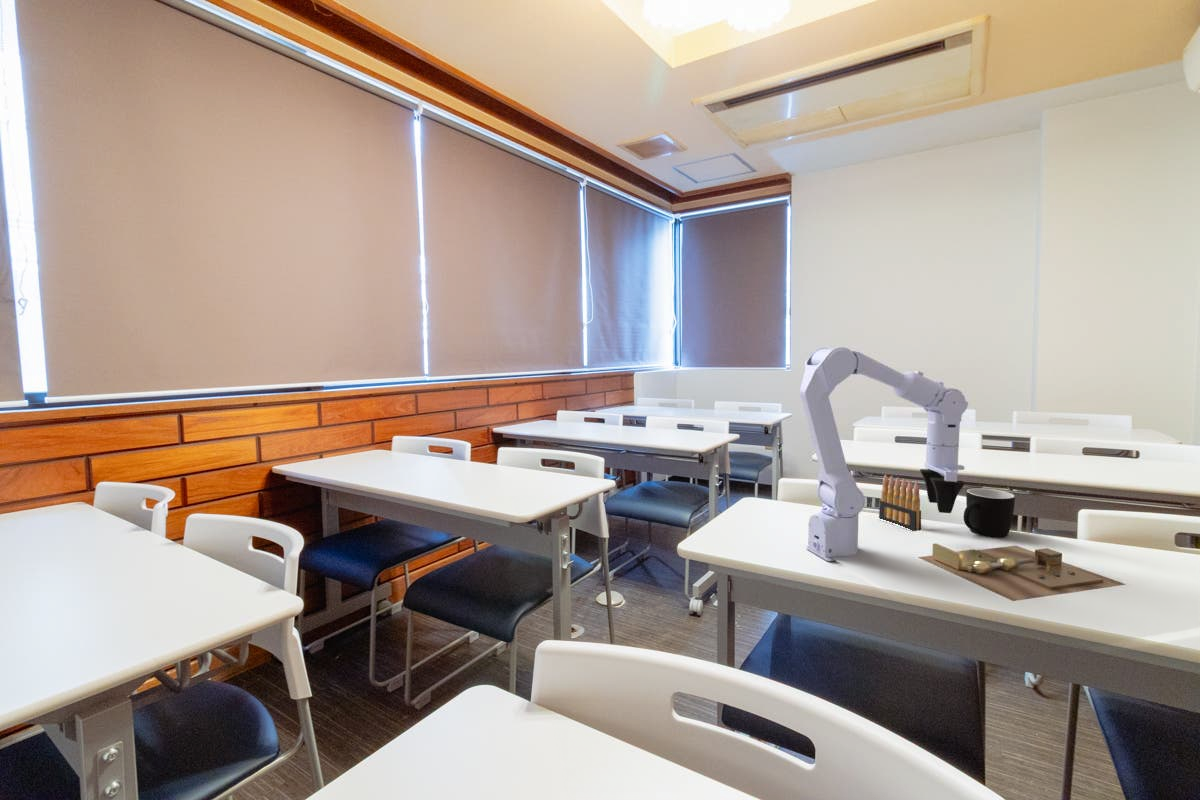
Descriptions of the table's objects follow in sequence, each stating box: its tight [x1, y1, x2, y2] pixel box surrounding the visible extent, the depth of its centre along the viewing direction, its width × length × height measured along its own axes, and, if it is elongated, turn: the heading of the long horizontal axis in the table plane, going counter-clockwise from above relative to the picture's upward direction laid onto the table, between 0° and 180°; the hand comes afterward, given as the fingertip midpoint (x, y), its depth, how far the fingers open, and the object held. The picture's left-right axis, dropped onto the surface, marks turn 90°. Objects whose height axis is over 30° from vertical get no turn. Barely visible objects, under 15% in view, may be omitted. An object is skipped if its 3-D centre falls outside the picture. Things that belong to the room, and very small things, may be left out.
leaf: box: [931, 542, 1034, 574], centre depth 105 cm, size 15×10×3 cm, turn 103°
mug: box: [963, 487, 1016, 539], centre depth 122 cm, size 12×9×10 cm
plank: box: [918, 545, 1126, 602], centre depth 102 cm, size 25×20×1 cm
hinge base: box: [1012, 547, 1103, 590], centre depth 99 cm, size 12×10×3 cm
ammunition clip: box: [878, 473, 922, 532], centre depth 131 cm, size 11×2×12 cm, turn 19°
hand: (939, 507), depth 113 cm, fingers open, 7 cm apart
